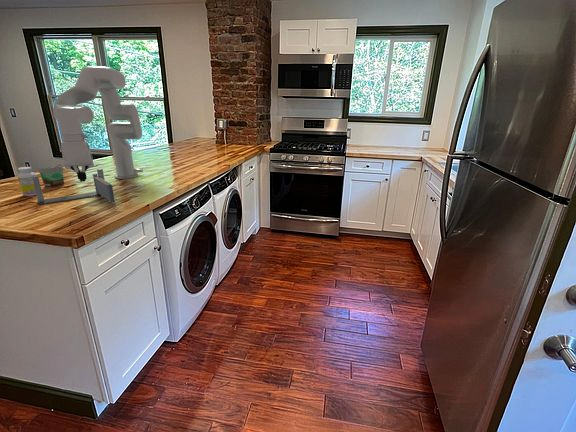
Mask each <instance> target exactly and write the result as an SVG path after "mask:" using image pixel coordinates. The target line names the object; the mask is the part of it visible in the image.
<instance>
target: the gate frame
mask: <svg viewBox="0 0 576 432" xmlns="http://www.w3.org/2000/svg"><path fill="white" fill-rule="evenodd" d="M96 172H97V173H96V174H97V176H98V177H100V178H102V179H103V180H105V176H104V169H103V168H98V169H96ZM39 179H40V178H39V176H38V175H36V176H32V180H33V183H34V187H35V191H36V195H35V196H36V198H37V200H36V201H37V203H38V205H39V206H42V205H48V204H49V205H50V204H56V203H62V202H68V201H69V202H70V201H74V200H75V201H76V200H81V199H88V198H94V196H95V197H102V196H101V195H100V194H98V193H96V191H93V192H86V193H80V194H78V193H77V194H72V195H65V196H60V197H59V196H57V197H51V198H46V199H45V198H44V194H43V190H42V186H41V183H40V180H39ZM105 181H106V180H105Z"/></svg>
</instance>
